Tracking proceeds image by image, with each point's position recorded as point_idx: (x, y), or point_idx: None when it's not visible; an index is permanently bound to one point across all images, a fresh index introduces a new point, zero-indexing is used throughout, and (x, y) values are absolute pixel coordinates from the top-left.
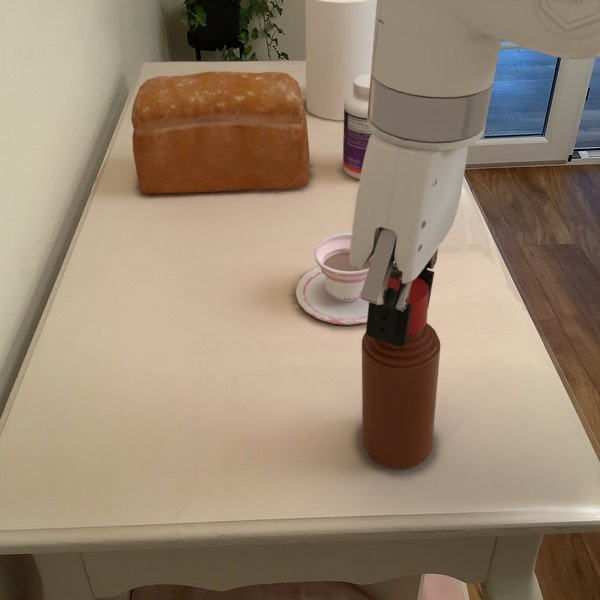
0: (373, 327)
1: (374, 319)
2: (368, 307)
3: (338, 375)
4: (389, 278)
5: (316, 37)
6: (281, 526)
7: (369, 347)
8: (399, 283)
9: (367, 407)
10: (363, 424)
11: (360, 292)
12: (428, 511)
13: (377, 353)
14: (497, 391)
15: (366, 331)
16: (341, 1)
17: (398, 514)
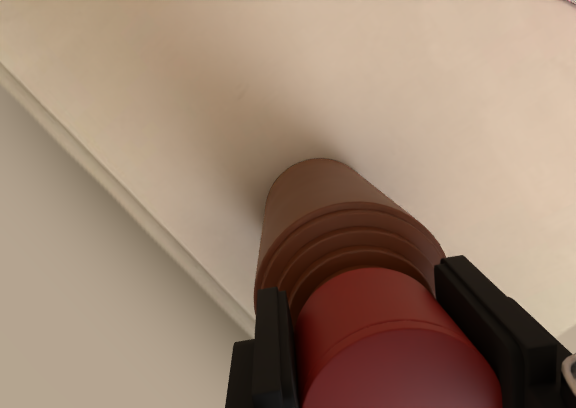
0: (232, 355)
1: (229, 380)
2: (254, 350)
3: (393, 41)
4: (438, 350)
5: None
6: (85, 165)
7: (277, 262)
8: (427, 397)
9: (267, 214)
10: (279, 184)
11: None
12: (242, 303)
13: None
14: (501, 276)
15: (258, 291)
16: None
17: (212, 277)
